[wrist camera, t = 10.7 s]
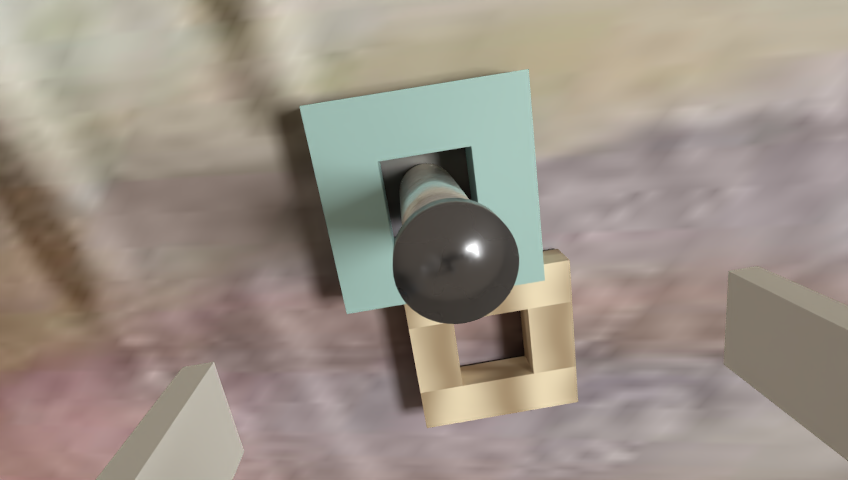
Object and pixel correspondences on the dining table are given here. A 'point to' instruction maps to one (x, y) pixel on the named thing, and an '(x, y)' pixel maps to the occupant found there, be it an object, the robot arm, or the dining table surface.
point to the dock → (414, 135)
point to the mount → (510, 378)
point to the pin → (450, 250)
